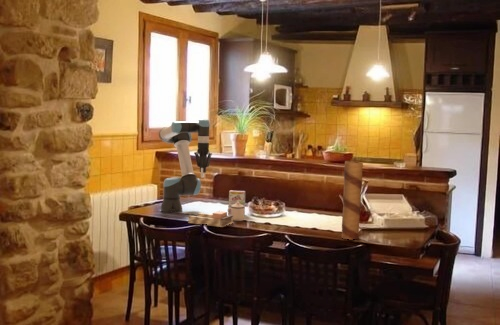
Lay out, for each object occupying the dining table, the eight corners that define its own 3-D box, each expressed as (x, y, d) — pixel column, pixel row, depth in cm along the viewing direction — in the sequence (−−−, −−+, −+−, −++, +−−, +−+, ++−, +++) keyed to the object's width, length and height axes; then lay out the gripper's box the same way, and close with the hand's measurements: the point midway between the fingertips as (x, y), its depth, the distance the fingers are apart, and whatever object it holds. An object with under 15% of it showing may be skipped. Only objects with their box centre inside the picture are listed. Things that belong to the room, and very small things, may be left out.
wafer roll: (351, 235, 340) (354, 160, 336) (362, 239, 331) (366, 162, 327) (337, 237, 335) (340, 160, 331) (348, 241, 326) (351, 162, 322)
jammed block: (212, 222, 361) (212, 213, 361) (218, 220, 368) (218, 211, 368) (220, 223, 359) (221, 214, 358) (226, 221, 366) (227, 212, 365)
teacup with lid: (246, 219, 382) (247, 201, 381) (240, 221, 374) (240, 203, 373) (231, 217, 388) (231, 200, 387) (224, 219, 380) (224, 201, 379)
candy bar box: (228, 214, 396) (228, 191, 394) (228, 213, 401) (229, 190, 399) (244, 215, 395) (244, 191, 393) (244, 214, 400) (245, 190, 398)
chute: (188, 222, 366) (188, 214, 365) (199, 219, 378) (199, 211, 378) (222, 227, 355) (222, 218, 354) (233, 223, 367) (233, 215, 367)
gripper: (192, 142, 384) (191, 177, 386) (209, 143, 378) (208, 178, 380) (197, 141, 390) (197, 176, 393) (214, 142, 385) (213, 177, 387)
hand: (202, 177), depth 386 cm, fingers closed
